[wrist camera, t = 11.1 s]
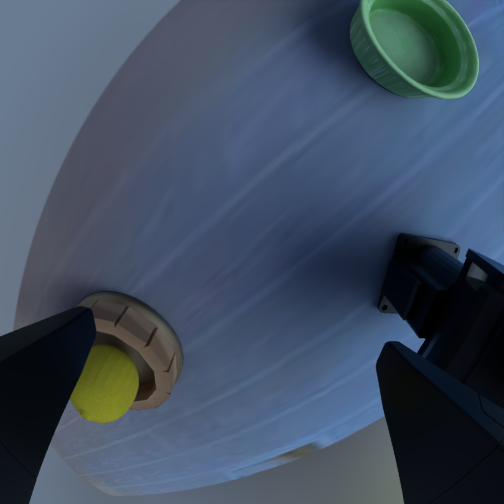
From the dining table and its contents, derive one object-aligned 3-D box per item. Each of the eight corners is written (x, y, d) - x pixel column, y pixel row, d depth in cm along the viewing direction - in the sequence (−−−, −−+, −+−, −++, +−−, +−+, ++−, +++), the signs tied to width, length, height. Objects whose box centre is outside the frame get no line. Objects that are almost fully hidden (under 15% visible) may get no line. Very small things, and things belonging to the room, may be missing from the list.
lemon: (144, 382, 23) (117, 449, 16) (92, 357, 22) (55, 416, 15) (156, 344, 21) (122, 418, 14) (97, 315, 21) (48, 377, 13)
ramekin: (324, -1, 13) (339, -31, 9) (424, 7, 12) (451, -11, 8) (360, 108, 16) (388, 99, 12) (456, 105, 15) (492, 102, 11)
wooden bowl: (182, 303, 21) (170, 328, 18) (185, 396, 25) (178, 422, 22) (64, 281, 21) (43, 299, 18) (87, 372, 25) (74, 393, 21)
